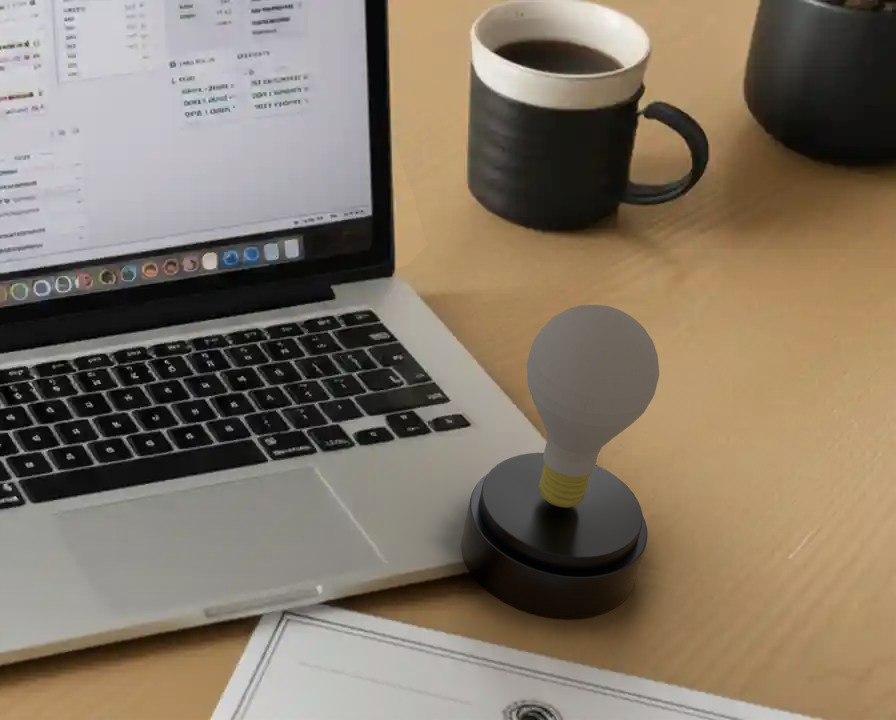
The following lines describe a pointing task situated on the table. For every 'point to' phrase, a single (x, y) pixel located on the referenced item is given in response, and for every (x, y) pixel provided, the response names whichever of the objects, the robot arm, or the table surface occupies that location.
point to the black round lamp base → (553, 542)
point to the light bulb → (587, 391)
